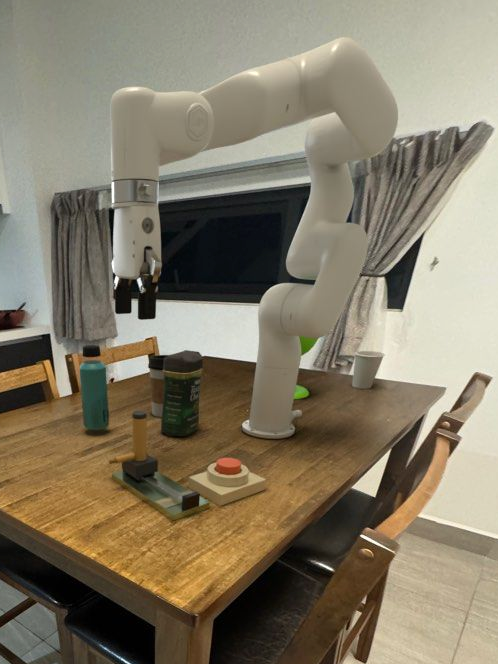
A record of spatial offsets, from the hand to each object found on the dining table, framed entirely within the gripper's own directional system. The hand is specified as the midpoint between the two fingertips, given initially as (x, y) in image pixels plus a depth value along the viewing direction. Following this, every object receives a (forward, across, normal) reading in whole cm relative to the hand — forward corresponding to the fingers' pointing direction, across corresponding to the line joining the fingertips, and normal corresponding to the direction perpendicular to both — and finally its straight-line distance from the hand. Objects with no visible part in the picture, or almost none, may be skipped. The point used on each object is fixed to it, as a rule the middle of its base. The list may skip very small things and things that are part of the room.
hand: (134, 316), depth 81 cm
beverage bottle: (+28, +21, 0) cm, 35 cm away
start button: (+24, -20, -10) cm, 33 cm away
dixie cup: (+26, +21, -92) cm, 98 cm away
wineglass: (+27, +28, -64) cm, 75 cm away
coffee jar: (+28, +12, -18) cm, 35 cm away
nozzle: (+27, -10, +5) cm, 29 cm away
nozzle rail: (+28, -15, +2) cm, 32 cm away
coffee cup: (+28, +26, -21) cm, 44 cm away
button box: (+28, -20, -10) cm, 36 cm away
